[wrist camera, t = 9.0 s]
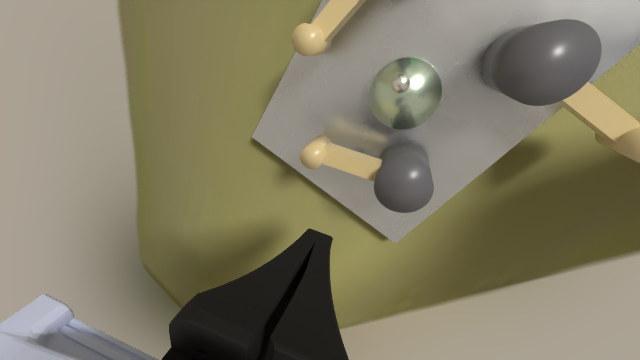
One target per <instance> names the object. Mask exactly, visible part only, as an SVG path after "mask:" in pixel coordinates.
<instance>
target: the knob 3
mask: <svg viewBox="0 0 640 360" xmlns="http://www.w3.org/2000/svg"><path fill="white" fill-rule="evenodd" d="M601 53H602V45H601V41H600V38H599V36H598V34H597V32H596V31H595V30H594V29H593V28H592V27H591V26H589V25H588V24H586V23H584V22H582V21H578V20H572V19H561V20H555V21H549V22H544V23H538V24H533V25H527V26H522V27H518V28H515V29H512V30H510V31H508V32H506V33H505V34H503V35H502V36H500V37H499V38H498V39H497V40H496V41H495V42H494V43H493V44H492V45H491V46H490V48H489V49H488V51H487V53H486V55H485V57H484V60H483V66H482V72H483V77H484V80H485V81H486V83H487V84H488V86H490V87H491V88H492V89H493V90H495V91H497V92H499V93H501V94H503V95H505V96H508V97H510V98H512V99H514V100H516V101H518V102H520V103H522V104H526V105H531V106H544V105H550V104H553V103H557V102H558V103H559V104H561V105H562V106H563V107H564V108H566V109H567V110H568V111H570V112H571V113H572V114H573V115H575V116H576V117H577V118H578V119H580V120H581V121H582V122H583V123H585V124H586V125H587V126H588V127H590V128H591V129H592V130H594V131H595V132H596V134H595V138H596V140H597V142H598V143H600V144H602V145H604V146H606V147H608V148H610V149H612V150H614V151H616V152H618V153H620V154H622V155H624V156H626V157H628V158H630V159H632V160H634V161H636V162H638V163H640V123H639V122H638V121H637V120H635V119H634V118H633V117H632V116H630V115H629V114H628V113H627V112H625V111H624V110H623V109H622V108H620V107H619V106H618V105H617V104H615V103H614V102H613V101H612V100H610V99H609V98H608V97H607V96H605V95H604V94H603V93H602V92H600V91H599V90H598V89H597V88H595V87H594V86H593V85H592V84H590V83H589V82H588V81H589V80H590V78H591V77H592V76H593V74H594V73H595V71H596V69H597V67H598V65H599V62H600V59H601Z"/></svg>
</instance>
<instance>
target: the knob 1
mask: <svg viewBox="0 0 640 360" xmlns="http://www.w3.org/2000/svg"><path fill="white" fill-rule="evenodd" d="M365 1H366V0H330V1H329V2H328V4H327V5H326V6H325V7H324V9H323V10H322V11H321V12H320V13H319V15H318V16H317V17H316V18H315V20H314V21H313V22H312V23H311V24H308V23H303V24H300V25H299V26H298V27H296V29H295V30H294V32H293V35H292V43H293V47H294V49H295V50H296V52H297V53H299V54H300V55H302V56H314V55H323V54H325V53H327V52H328V50H329V49H330V47H331V44H332V38H333V37H334V36H335V35H336V34H337V33H338V32H339V30H340V29H341V28H342V27H343V26H344V25H345V24H346V23H347V21H348V20H349V19H350V18H351V17H352V16H353V15H354V14H355V12H356V11H357V10H358V9H359V8H360V7H361V6H362V4H363V3H364V2H365Z"/></svg>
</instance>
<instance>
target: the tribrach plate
mask: <svg viewBox="0 0 640 360" xmlns="http://www.w3.org/2000/svg"><path fill="white" fill-rule="evenodd" d="M329 1H330V0H322V2H321V4H320V6H319V8H318V10H317V12H316V13H315V15H314V17H313V19H312V21H311V23H312V22H313V21H314V20H315V18H316V17H317V16H318V15H319V13H320V12H321V11H322V10H323V9H324V7H325V6H326V5H327V4H328V2H329ZM561 19H572V20H578V21H582V22H584V23H586V24H588V25H589V26H591V27H592V28H593V29H594V30H595V31H596V32H597V34H598V36H599V38H600V41H601V45H602V53H601V59H600V62H599V65H598V67H597V69H596V71H595V73H594V74H593V76H592V77H591V78H590V80H589V81H588V82H589V83H590V84H591V83H593V82H594V81H595V80H596V79H598V78H599V77H600V76H601V75H602V74H604V73H605V72H606V71H607V70H609V69H610V68H611V67H612V66H613V65H615V64H616V63H617V62H618V61H620V60H621V59H622V58H623V57H624V56H626V55H627V54H628V53H629V52H631V51H632V50H633V49H634V48H636V47H637V46H638V45H639V44H640V0H366V1H365V2H364V3H363V4H362V6H361V7H360V8H359V9H358V10H357V11H356V12H355V14H354V15H353V16H352V17H351V18H350V19H349V20H348V21H347V23H346V24H345V25H344V26H343V27H342V28H341V29H340V30H339V32H338V33H337V34H336V35H335V36H334V37H333V38H332V44H331V47H330V49H329V50H328V52H327V53H325V54H323V55H314V56H302V55H300V54H299V53H297V52H295V54H294V56H293V58H292V60H291V62H290V64H289V66H288V68H287V70H286V72H285V73H284V75H283V77H282V79H281V81H280V83H279V85H278V87H277V89H276V91H275V93H274V95H273V97H272V99H271V101H270V103H269V104H268V106H267V108H266V110H265V112H264V114H263V116H262V118H261V120H260V122H259V124H258V126H257V128H256V130H255V132H254V133H253V135H252V138H254V139H255V140H256V141H258V142H259V143H260V144H262V145H263V146H265V147H266V148H267V149H269V150H270V151H271V152H273V153H274V154H275V155H277V156H278V157H279V158H281V159H282V160H283V161H285V162H286V163H287V164H289V165H290V166H291V167H293V168H294V169H296V170H297V171H298V172H300V173H301V174H302V175H304V176H305V177H306V178H308V179H309V180H310V181H312V182H313V183H314V184H316V185H317V186H318V187H320V188H321V189H322V190H324V191H325V192H326V193H328V194H329V195H331V196H332V197H333V198H335V199H336V200H337V201H339V202H340V203H341V204H343V205H344V206H345V207H347V208H348V209H349V210H351V211H352V212H353V213H355V214H356V215H357V216H359V217H360V218H362V219H363V220H364V221H366V222H367V223H368V224H370V225H371V226H372V227H374V228H375V229H376V230H378V231H379V232H380V233H382V234H383V235H384V236H386V237H387V238H388V239H390V240H391V241H393V242H394V243H397V242H398V241H399V240H400V239H402V238H403V237H404V236H405V235H406V234H408V233H409V232H410V231H411V230H413V229H414V228H415V227H416V226H417V225H419V224H420V223H421V222H422V221H424V220H425V219H426V218H427V217H428V216H430V215H431V214H432V213H433V212H435V211H436V210H437V209H438V208H440V207H441V206H442V205H443V204H444V203H446V202H447V201H448V200H449V199H451V198H452V197H453V196H454V195H455V194H457V193H458V192H459V191H460V190H462V189H463V188H464V187H465V186H466V185H468V184H469V183H470V182H471V181H473V180H474V179H475V178H476V177H477V176H479V175H480V174H481V173H482V172H484V171H485V170H486V169H487V168H489V167H490V166H491V165H492V164H493V163H495V162H496V161H497V160H498V159H500V158H501V157H502V156H503V155H504V154H506V153H507V152H508V151H509V150H511V149H512V148H513V147H514V146H515V145H517V144H518V143H519V142H520V141H522V140H523V139H524V138H525V137H526V136H528V135H529V134H530V133H531V132H533V131H534V130H535V129H536V128H538V127H539V126H540V125H541V124H542V123H544V122H545V121H546V120H547V119H549V118H550V117H551V116H552V115H553V114H555V113H556V112H557V111H558V110H560V109H561V108H562V107H563V106H562V105H561V104H559V103H558V102H557V103H553V104H550V105H544V106H531V105H526V104H522V103H520V102H518V101H516V100H514V99H512V98H510V97H508V96H505V95H503V94H501V93H499V92H497V91H495V90H493V89H492V88H491V87H490V86H488V84H487V83H486V81H485V80H484V77H483V72H482V66H483V60H484V57H485V55H486V53H487V51H488V49H489V48H490V46H491V45H492V44H493V43H494V42H495V41H496V40H497V39H498V38H499V37H500V36H502V35H503V34H505V33H506V32H508V31H510V30H512V29H515V28H518V27H522V26H527V25H533V24H538V23H544V22H549V21H555V20H561ZM311 23H310V24H311ZM318 135H325V136H327V137H328V138H329V139H330V140H331V142H332V144H335V145H339V146H342V147H345V148H348V149H351V150H354V151H357V152H360V153H363V154H366V155H369V156H372V157H375V158H378V159H380V157H381V155H382V153H383V152H384V151H385V150H386V149H387V148H388V147H389V146H391V145H393V144H395V143H399V142H410V143H414V144H416V145H418V146H420V147H421V148H422V149H423V150H424V151H425V152H426V154H427V156H428V159H429V164H430V169H431V174H432V179H433V184H434V192H433V195H432V198H431V200H430V201H429V202H428V204H427V205H425V206H424V207H423V208H421V209H419V210H417V211H414V212H410V213H399V212H394V211H391V210H389V209H387V208H386V207H384V206H383V205H382V204H381V203H380V202H379V201H378V199H377V198H376V196H375V192H374V181H371V180H368V179H365V178H363V177H360V176H357V175H354V174H351V173H348V172H345V171H342V170H339V169H336V168H333V167H330V166H327V165H324V164H321V166H320V167H318V168H317V169H308V168H306V167H305V166H304V165H303V164H302V163H301V161H300V153H301V151H302V150H303V149H304V148H305V147H306V146H307V145H308V144H309V143H310V142H311V141H312V140H313V139H314V138H315V137H316V136H318Z"/></svg>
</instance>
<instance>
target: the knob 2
mask: <svg viewBox="0 0 640 360" xmlns="http://www.w3.org/2000/svg"><path fill="white" fill-rule="evenodd" d="M300 161H301V163H302V164H303V165H304V166H305V167H306V168H308V169H317V168H318V167H320V166H321V164H324V165H327V166H330V167H333V168H336V169H339V170H342V171H345V172H348V173H351V174H354V175H357V176H360V177H363V178H365V179H368V180H371V181H374V192H375V196H376V198H377V199H378V201H379V202H380V203H381V204H382V205H383V206H384V207H386V208H387V209H389V210H391V211H394V212H399V213H410V212H414V211H417V210H419V209H421V208H423V207H424V206H425V205H427V204H428V202H429V201H430V200H431V198H432V195H433V192H434V184H433V179H432V174H431V169H430V164H429V159H428V156H427V154H426V152H425V151H424V150H423V149H422V148H421V147H420V146H418V145H416V144H414V143H410V142H399V143H395V144H393V145H391V146H389V147H388V148H387V149H386V150H385V151H384V152H383V153H382V155H381V157H380V159H378V158H375V157H372V156H369V155H366V154H363V153H360V152H357V151H354V150H351V149H348V148H345V147H342V146H339V145H335V144H332V142H331V140H330V139H329V138H328V137H327V136H325V135H318V136H316V137H315V138H314V139H313V140H312V141H311V142H310V143H309V144H308V145H307V146H306V147H305V148H304V149H303V150H302V151H301V153H300Z"/></svg>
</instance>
